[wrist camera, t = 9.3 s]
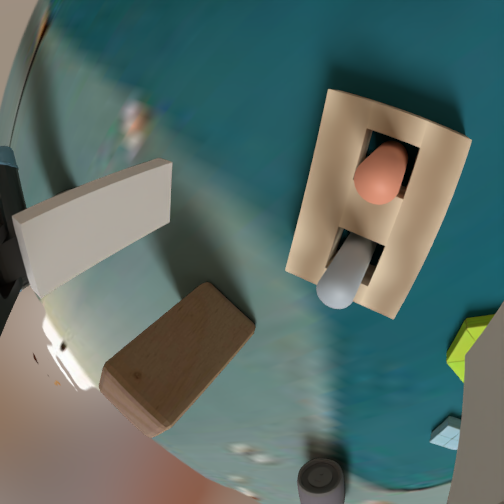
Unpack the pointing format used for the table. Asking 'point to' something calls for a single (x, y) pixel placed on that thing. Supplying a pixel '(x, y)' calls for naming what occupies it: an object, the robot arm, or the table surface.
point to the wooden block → (175, 359)
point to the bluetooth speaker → (321, 482)
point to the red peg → (382, 173)
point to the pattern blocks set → (459, 375)
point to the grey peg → (346, 272)
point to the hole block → (372, 215)
